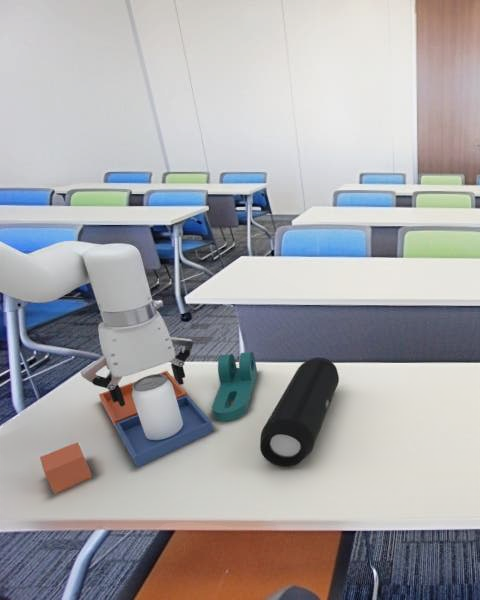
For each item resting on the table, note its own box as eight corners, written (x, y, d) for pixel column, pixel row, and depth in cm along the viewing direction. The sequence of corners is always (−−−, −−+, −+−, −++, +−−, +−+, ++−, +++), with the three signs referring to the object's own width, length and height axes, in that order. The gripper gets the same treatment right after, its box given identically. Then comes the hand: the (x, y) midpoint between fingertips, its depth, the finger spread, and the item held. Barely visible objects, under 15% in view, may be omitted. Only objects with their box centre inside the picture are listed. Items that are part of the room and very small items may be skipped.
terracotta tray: (117, 431, 82) (113, 421, 81) (102, 403, 90) (98, 394, 89) (188, 402, 91) (186, 393, 90) (169, 379, 99) (167, 370, 98)
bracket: (228, 376, 101) (222, 349, 98) (257, 373, 103) (252, 346, 100) (210, 423, 85) (202, 393, 82) (245, 418, 87) (238, 388, 84)
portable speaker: (312, 471, 75) (307, 429, 71) (259, 470, 74) (250, 428, 70) (342, 389, 98) (339, 354, 94) (301, 388, 98) (297, 353, 94)
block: (54, 494, 68) (44, 472, 66) (50, 478, 71) (39, 456, 69) (92, 477, 71) (83, 455, 69) (86, 462, 74) (77, 441, 72)
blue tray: (137, 467, 74) (133, 457, 73) (118, 433, 81) (114, 423, 80) (213, 431, 83) (211, 422, 82) (190, 403, 91) (187, 394, 90)
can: (169, 416, 86) (155, 369, 81) (190, 425, 84) (177, 377, 79) (138, 436, 80) (121, 386, 76) (160, 445, 78) (144, 395, 73)
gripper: (176, 295, 80) (193, 367, 86) (60, 320, 67) (90, 402, 74) (190, 306, 75) (206, 381, 82) (69, 336, 63) (99, 422, 70)
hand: (151, 391), depth 78 cm, fingers open, 9 cm apart
